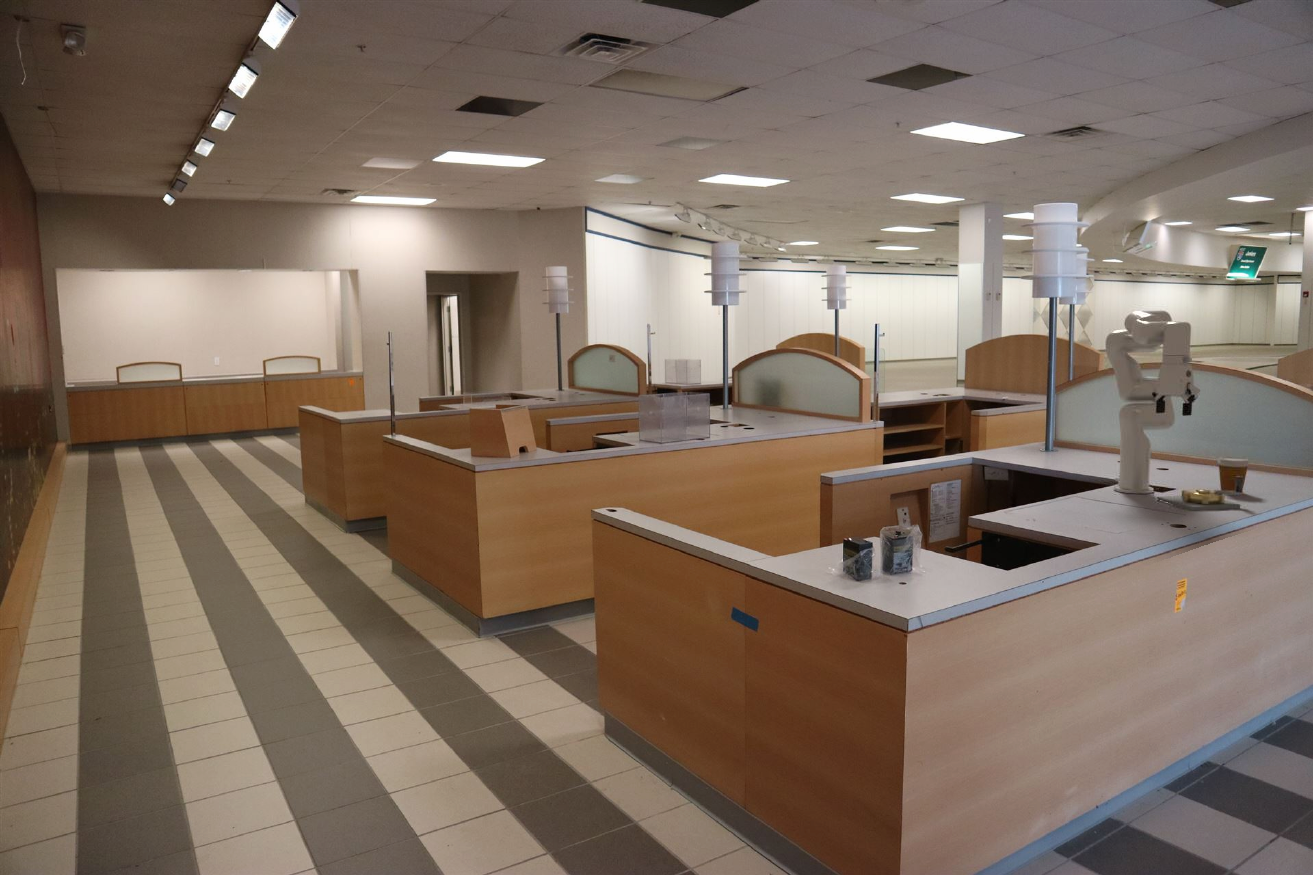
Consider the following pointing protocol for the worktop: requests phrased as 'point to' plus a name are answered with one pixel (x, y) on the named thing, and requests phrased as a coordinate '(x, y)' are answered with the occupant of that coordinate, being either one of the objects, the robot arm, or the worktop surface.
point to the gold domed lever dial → (1212, 494)
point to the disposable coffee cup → (1231, 471)
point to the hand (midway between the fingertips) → (1173, 414)
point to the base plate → (1197, 504)
